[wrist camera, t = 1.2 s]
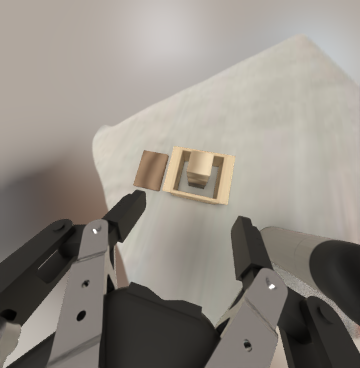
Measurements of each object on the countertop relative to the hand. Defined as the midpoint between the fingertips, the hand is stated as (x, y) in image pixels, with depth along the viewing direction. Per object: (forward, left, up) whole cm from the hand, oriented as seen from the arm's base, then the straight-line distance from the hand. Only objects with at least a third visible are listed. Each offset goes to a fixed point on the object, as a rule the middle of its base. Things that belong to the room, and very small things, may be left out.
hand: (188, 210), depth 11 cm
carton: (0, -10, -31) cm, 33 cm away
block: (0, -10, -31) cm, 33 cm away
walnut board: (+17, -10, -31) cm, 37 cm away
